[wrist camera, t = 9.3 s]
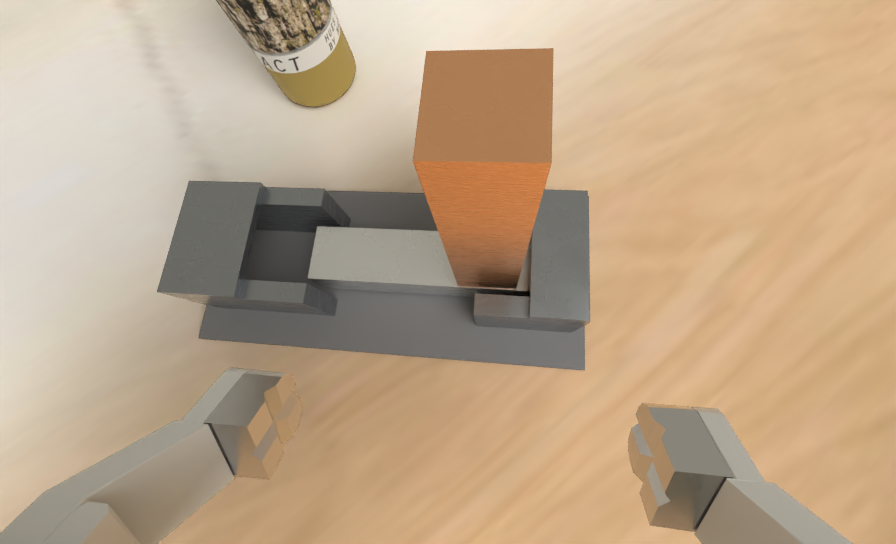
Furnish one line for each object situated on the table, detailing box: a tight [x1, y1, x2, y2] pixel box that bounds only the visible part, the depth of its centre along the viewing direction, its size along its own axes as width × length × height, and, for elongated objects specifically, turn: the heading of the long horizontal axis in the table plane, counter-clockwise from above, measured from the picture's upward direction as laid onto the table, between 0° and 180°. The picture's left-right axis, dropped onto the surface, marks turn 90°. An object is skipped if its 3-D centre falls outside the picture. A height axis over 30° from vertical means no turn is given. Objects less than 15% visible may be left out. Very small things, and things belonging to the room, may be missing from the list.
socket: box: [474, 190, 590, 333], centre depth 24 cm, size 6×7×5 cm
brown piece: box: [308, 48, 553, 297], centre depth 19 cm, size 15×4×17 cm, turn 85°
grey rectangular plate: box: [199, 191, 585, 370], centre depth 28 cm, size 27×12×1 cm, turn 85°
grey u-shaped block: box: [157, 181, 351, 316], centre depth 26 cm, size 9×7×5 cm
